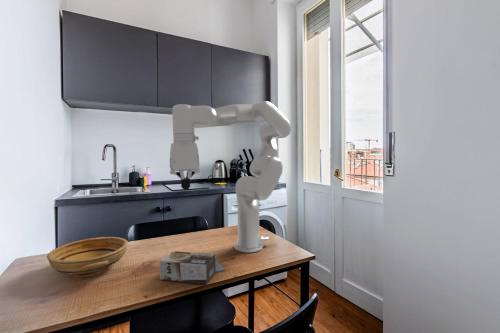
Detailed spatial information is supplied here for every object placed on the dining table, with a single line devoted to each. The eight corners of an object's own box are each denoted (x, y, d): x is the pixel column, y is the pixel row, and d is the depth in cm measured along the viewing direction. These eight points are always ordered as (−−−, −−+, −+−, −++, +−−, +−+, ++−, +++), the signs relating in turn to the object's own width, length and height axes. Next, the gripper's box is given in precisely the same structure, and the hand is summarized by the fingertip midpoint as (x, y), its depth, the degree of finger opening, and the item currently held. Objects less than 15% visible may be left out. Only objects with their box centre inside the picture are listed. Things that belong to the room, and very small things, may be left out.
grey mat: (213, 256, 100) (213, 255, 100) (224, 270, 88) (224, 269, 88) (167, 264, 93) (167, 263, 93) (171, 281, 80) (171, 280, 80)
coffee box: (159, 280, 80) (206, 285, 77) (158, 260, 80) (206, 264, 77) (173, 268, 89) (216, 271, 86) (172, 250, 89) (216, 253, 86)
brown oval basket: (48, 264, 93) (47, 243, 93) (119, 249, 108) (119, 231, 108) (46, 300, 70) (45, 272, 69) (138, 274, 85) (137, 251, 84)
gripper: (201, 140, 97) (203, 186, 98) (161, 140, 90) (163, 190, 91) (207, 139, 90) (208, 189, 91) (163, 138, 84) (165, 192, 85)
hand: (185, 189), depth 91 cm, fingers closed
